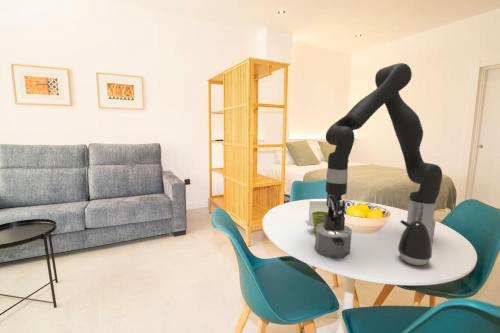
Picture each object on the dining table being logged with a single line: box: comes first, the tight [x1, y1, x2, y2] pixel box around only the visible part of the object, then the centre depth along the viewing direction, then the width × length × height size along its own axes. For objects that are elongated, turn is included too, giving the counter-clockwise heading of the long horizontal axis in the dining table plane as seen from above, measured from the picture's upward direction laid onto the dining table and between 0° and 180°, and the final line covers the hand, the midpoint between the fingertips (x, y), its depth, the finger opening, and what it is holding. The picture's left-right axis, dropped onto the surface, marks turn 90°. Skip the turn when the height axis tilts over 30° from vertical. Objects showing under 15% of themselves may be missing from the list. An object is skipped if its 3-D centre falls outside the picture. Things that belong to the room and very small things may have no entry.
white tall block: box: [308, 198, 328, 227], centre depth 129 cm, size 9×9×12 cm
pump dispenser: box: [397, 219, 433, 266], centre depth 93 cm, size 10×10×15 cm
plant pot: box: [312, 211, 328, 234], centre depth 118 cm, size 9×9×9 cm
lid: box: [316, 215, 352, 238], centre depth 100 cm, size 13×13×6 cm
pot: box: [314, 231, 352, 259], centre depth 101 cm, size 12×17×8 cm
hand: (333, 222), depth 100 cm, fingers open, 8 cm apart
